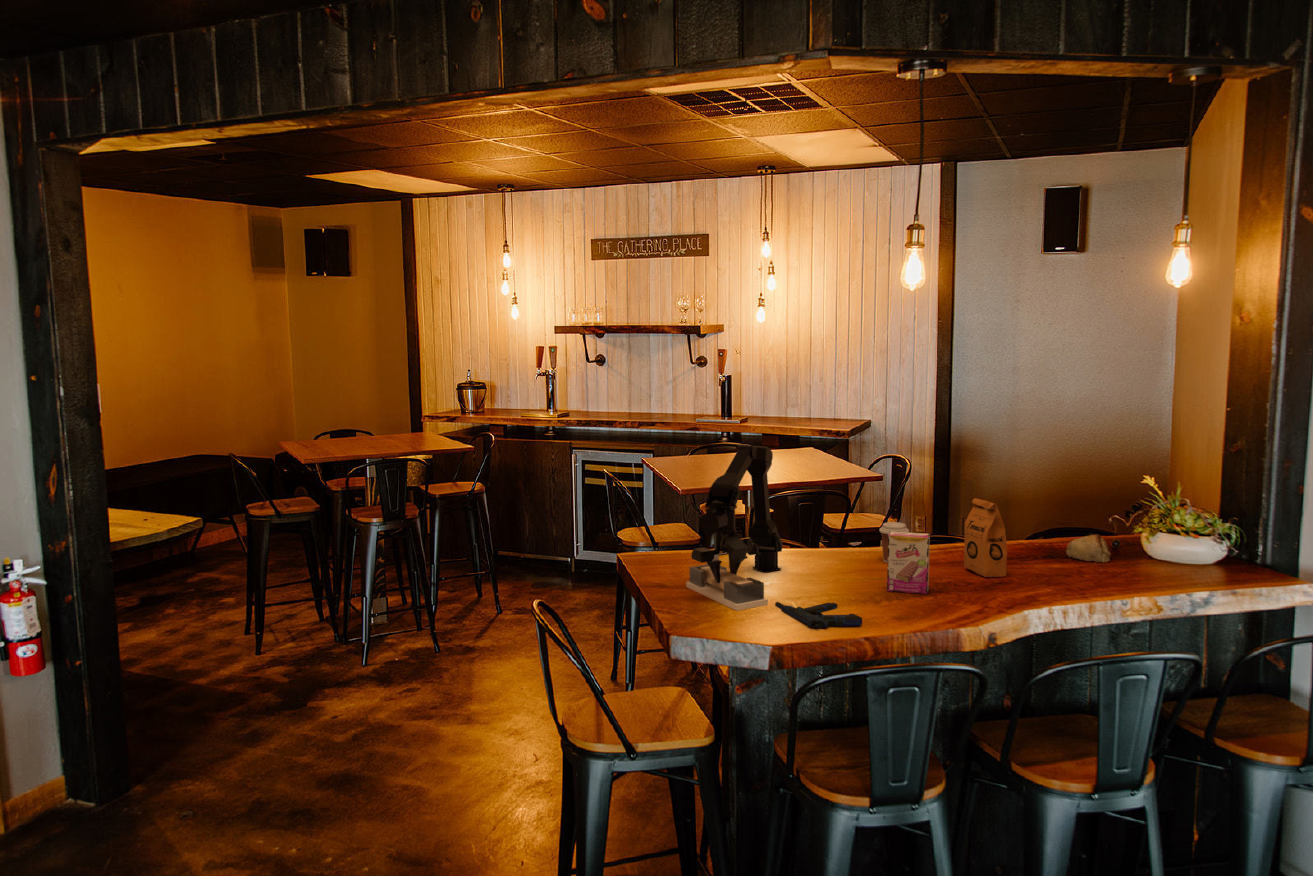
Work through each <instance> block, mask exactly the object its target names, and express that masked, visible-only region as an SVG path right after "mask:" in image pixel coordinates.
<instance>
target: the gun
mask: <svg viewBox="0 0 1313 876" xmlns="http://www.w3.org/2000/svg"><path fill="white" fill-rule="evenodd" d="M774 605H775V606H776V607H777V608H779V609H780V610H781V611H782V612H783V613H785V614H786V615H788V616H789V617H792V618H793V619H795V620H797V621H799V622H800V623H801V624H804V625H805V626H807V627H808V628H810V629H812V630H818V629H825V628H828V627H829V628H830V627H831V628H833V627H835V628H842V627H843V628H850V627H851V628H854V627H856V628H857V627H861V626H862V625H863V617H861V616H859V615H857V614H855V613H848V614H824V613H825V612H828V611H832V610H835V609H838V604H837V602H825V603H822V604H817V605H812V606H808V607H804V608H803V607H802V606H796V607H794V606H792V605H786V604H784V603H782V602H779V601H775V603H774Z"/></svg>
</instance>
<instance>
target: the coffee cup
mask: <svg viewBox="0 0 1313 876" xmlns="http://www.w3.org/2000/svg"><path fill="white" fill-rule="evenodd" d="M878 531H879V532H880V533H881V544H882V545H881V546H882V556H883V559H882V560H883V563H886V564H888V535H889V532H890V531H892V532H907V533H910V530H909V529H908V528H907V524H905V523H904V522H903V523H902V522H898V521H897V522H896V521H888V522H884V523H882V526H881V527H880V528H879V530H878Z"/></svg>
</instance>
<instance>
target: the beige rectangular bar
mask: <svg viewBox="0 0 1313 876" xmlns="http://www.w3.org/2000/svg"><path fill="white" fill-rule="evenodd" d="M700 570H702V571H705V582H707V583H709V584H711V585H714V586H716V587H718V588H720V589H723V590H724V582H726V581H728V582H730V583H733V584H735V585H737V586H738V585H744V584H750V583H753V582H752V581H750V580H747V578H745V577H742V576H740V575H737V574H736V575H735V574H733V573H730V571H728V570H727V571H726V570H723V569H721V568H720V583H717V582H716V580H715V578H714V575H713V573H712V571H711V569H710V567H709V566H708V567H702V568H700Z"/></svg>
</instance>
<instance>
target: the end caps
mask: <svg viewBox="0 0 1313 876" xmlns="http://www.w3.org/2000/svg"><path fill="white" fill-rule="evenodd" d="M708 566H709V565H708V564H707V563H705V564H701V565H694V566H689V581H690V583H693V584H695V585H697V586H699V587H705V571H702V570H700V568H702V567H708ZM720 568H721V569H723V570H726V571H728V569H727V567H726V566H723V565H721V564H720ZM746 579H747V580H750V581H752V582H753V583H750V584H744V585H738V586H737V585H735V584H733V583H730V582H728V581H726V582H724V598H725V599H727V600H729V601H731V602H734V603H736V604H741V603H746V602H751V601H757V600H762V599H764V598H765V584H764V583H765V582H763V581H760V580H758V579H754V578H753V577H746Z"/></svg>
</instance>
